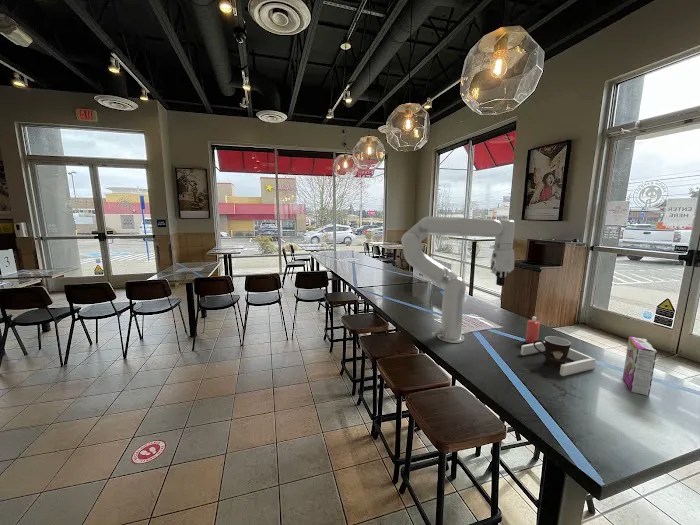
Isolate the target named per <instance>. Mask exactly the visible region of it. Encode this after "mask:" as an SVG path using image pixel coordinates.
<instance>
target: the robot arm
mask: <svg viewBox="0 0 700 525" xmlns="http://www.w3.org/2000/svg"><path fill="white" fill-rule="evenodd" d="M515 226H516V222H515V220H513V219H499V220H497V219H491V218H488V219H487V218H486V219H483V218H482V219H481V218H480V219H479V218H466V217H461V216H459V217H456V216H455V217H454V216H450V217H449V216H425V217H423V218H421V219H420V220H419V221H417V223H416V224H414V225H413V226H412V227H411V228H409V229H408V230H406V232H404V233H403V234H402V236H401V239H400V243H401V245H402V246H403V247H402V248H403V250H402V251H403V257H404V259H405V261H406V262H407V264H408V265H410V266H411V267H412V268H413V269H415V270H416V271H417V272H419V273H420V274H422V275H423V276H425V277H426V278H427V280H429V281H431V282H433V283H435V284H437V285H438V286H439V287H440V288H442V289H443V296H442V305H441V320H440V321H441V322H440V323H441V324H440V327H439V328H438V330H437V331H432V332H431V335H432V336H433V337H434V336H437V339H439V340H440V341H443V342H446V343H450V344H458V343H462V342H464V341H465V336H464V335H463V334H462V329H463V328H462V326H463V312H464V299H465V296H466V295H465V293H466V289H467V287H466V282H465V280H464V279H463V278H462V277H461V276H460V275H458V274H456V273H455V272H453V271H452V270H451V269H449V268H448V267H446V266H445V265H443V264H442V263H440V262H439V261H437V260H436V259H433V258H431V257H430V256H429V255H428V254H426V253H425V252H423V250H422V241H423V240H425V239H426V238H427V237H428V236H448V237H449V236H452V237H453V236H454V237H455V236H456V237H485V238H487V237H489V238H490V237H491V238H495V239H494V244H493V251H492V253H491V260H490V270H491V272H490V273H491V274H494V275H495V277H496V280H495V281H496V282H495V284H496V285H497V286H499V287H502V286H505V279H506V277H507V275H508V274H510V273H512V271H514V270H515V251H514V249H513V247H514V237H515V236H514V235H515V228H516V227H515Z"/></svg>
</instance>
